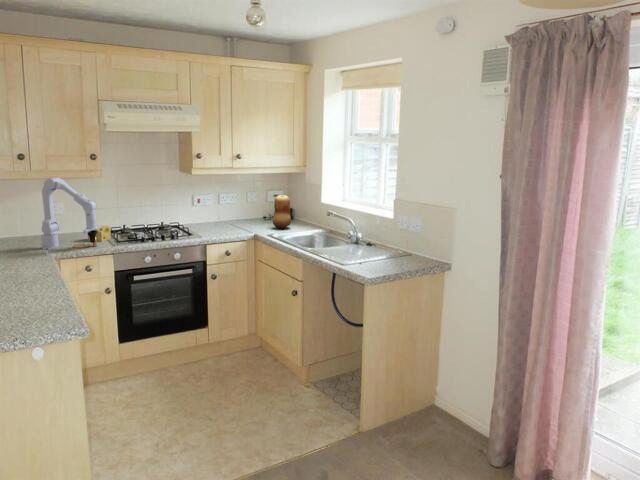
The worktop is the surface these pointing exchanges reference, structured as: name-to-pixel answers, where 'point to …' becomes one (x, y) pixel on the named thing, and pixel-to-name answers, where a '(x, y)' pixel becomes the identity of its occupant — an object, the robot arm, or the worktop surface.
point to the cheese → (102, 234)
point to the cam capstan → (85, 245)
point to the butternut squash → (282, 212)
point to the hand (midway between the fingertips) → (93, 242)
